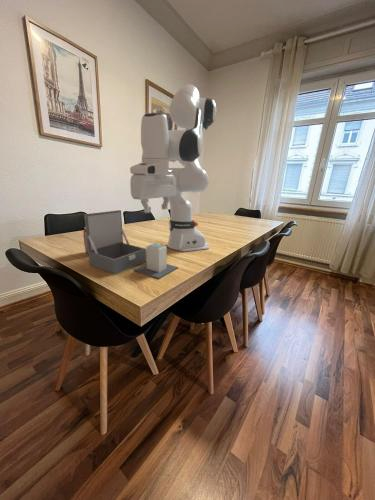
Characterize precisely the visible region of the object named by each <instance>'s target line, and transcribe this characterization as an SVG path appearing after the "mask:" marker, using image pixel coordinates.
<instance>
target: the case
mask: <svg viewBox="0 0 375 500" xmlns="http://www.w3.org/2000/svg"><path fill="white" fill-rule="evenodd" d="M83 217H84V225H85V226H84V228H85V227H86V236H87V244H88V253H89V254H88V258H89V259H88V260H89V265H90V266H91V267H95V268H98V269H99V270H102V271H104V272H108V273H111V274H112V275H113V274H114V275H117V274H119V273H121V272H123V271H126V270H128V269H131V268H134V267H135V266H138V265H140V264H143V263H144V262H147V251H146V248H144V247H140V246H136V245H132V244H130V242H129V240H128V238H127V235H126V234H125V231H124V229H123V221H122V210H119V209H118V210H112V211H111V210H110V211H102V212H94V213H84V214H83ZM124 241H125V242H124Z"/></svg>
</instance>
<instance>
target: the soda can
mask: <svg viewBox="0 0 375 500" xmlns="http://www.w3.org/2000/svg"><path fill="white" fill-rule="evenodd" d="M82 233H83V234H82V235H83V243H84V249H85V250H84V251H85V253H86V254H87V255H89V253H88V244H87V236H86V227H85V226H84V229H83V232H82Z"/></svg>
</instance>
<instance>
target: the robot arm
mask: <svg viewBox="0 0 375 500" xmlns="http://www.w3.org/2000/svg"><path fill="white" fill-rule="evenodd" d="M216 105H217V104H216V102H215V99H212V98H209V97H206V98H205V97H200V92H199V90H198V88H197V87H196V86H195V85H194V84H191V83H190V84H189V83H187V84H184V85H183V86H181V87H180V88H178V90H177V92H175V94H174V95H173V97H172V99H171V101H170V103H169V108H168V109H169V111H168V112H169V116H170V118H171V121H172V122H173V123H174V124H175V125H176V126H177V127H178V128H180V129H172V130H170V129H169V124H168V117H167V115H166V114H165V113H162V112H150V113H149V112H147V113H145V114H144V115H142V117H141V122H140V123H141V124H140V145H141V148H142V149H141V150H142V155H141V162H139V163H137V164H135V165H132V166H130V168H129V171H130V172H129V173H130V175H131V174H132V175H131V177H130V196H131V197H132V199H133V200H139V201H140V204H141V205H142V207H143V212H144V213H145V214H146V213H147V214H149V213H151V212H152V210H151V209H152V208H151V206H149V204H148V203H150V202H149V200H150V199H160V198H162V200H163V203H162V204H161V209H162V210H167V209H168V205H169V207H170V208H169V209H170V219H169V236H168V241H167V245H166V246H167V248H169V249H172V250H175V251H180V252H191V251H192V252H193V251H201V250H202V251H203V250H208V249H210V244H209V243H208V242H206V237H205V235H204V234H203V232H201V231H200V230H199V229H198V228H197V227H198V226H199V222H197V221H195V220H193V208H194V207H193V204H192V203H191V202H190V200H188V199H186V198H185V197H184V195H183V193H193V194H195V193H201V192H205V191H206V189H207V188H208V186H209V182H210V177H209V175H208V173H207V171H206V170H205V169H203V168H202V165H201V164H200V158H201V152H202V147H203V143H204V142H203V140H204V130H208V128H209V127H210V126H211V125H212V124H213V123H215V122H214V121H215V119H216V116H217V106H216ZM170 161H171V162H172V161H173V162H174V161H178V163H180V165H181V166H183V167H170Z"/></svg>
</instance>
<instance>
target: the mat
mask: <svg viewBox="0 0 375 500" xmlns="http://www.w3.org/2000/svg"><path fill="white" fill-rule="evenodd" d="M178 269H179V267H178V266H176V265H172V264H169V263H166V269H164V270H162V271H160V272H157V271H154V270H151V269H147V263H146V264H143V265H141V266H140V267H137V268H134V269H133V271H134V272H137V273H139V274H142V275H145V276H148V277H151V278H154V279H157V280H160V279H162V278H163V277H166V276H167V275H169V274H171V273H172V272H175V271H176V270H178Z"/></svg>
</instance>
